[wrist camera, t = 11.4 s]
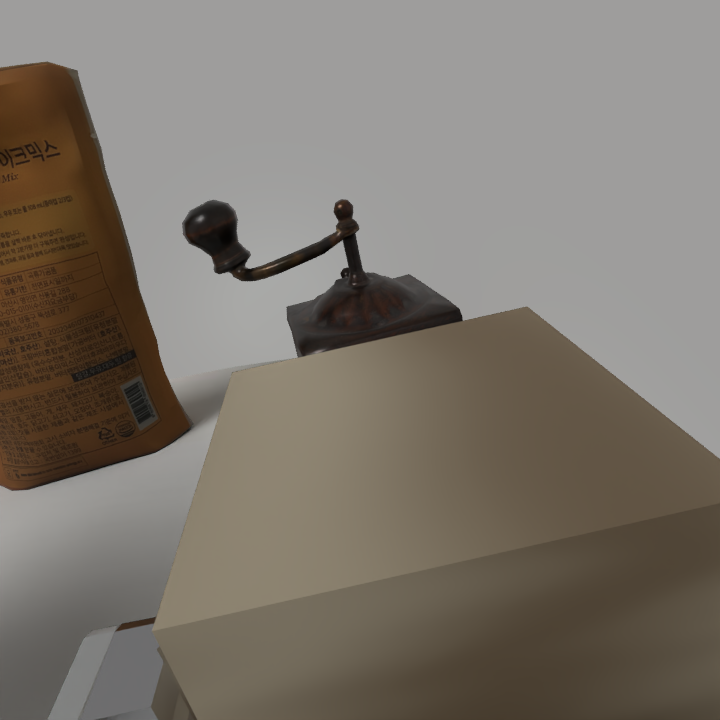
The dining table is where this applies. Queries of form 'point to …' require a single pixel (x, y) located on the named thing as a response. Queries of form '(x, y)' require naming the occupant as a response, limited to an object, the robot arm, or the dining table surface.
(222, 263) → the manual coffee grinder
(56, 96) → the pancake mix bag
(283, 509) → the oak column
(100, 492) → the dining table surface
